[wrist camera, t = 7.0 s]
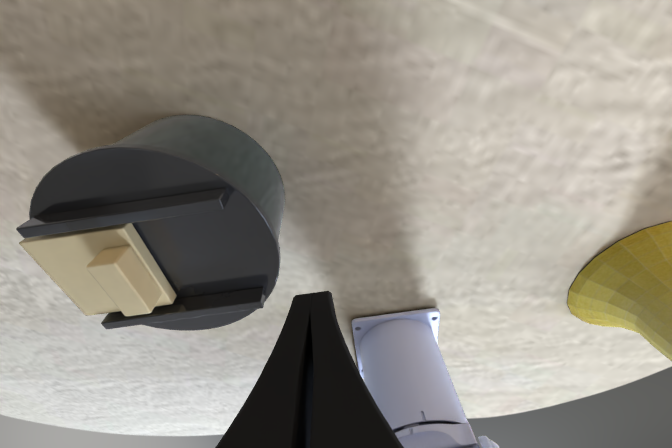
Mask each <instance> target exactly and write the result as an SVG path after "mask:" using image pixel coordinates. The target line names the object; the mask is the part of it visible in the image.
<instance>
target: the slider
mask: <svg viewBox="0 0 672 448" xmlns="http://www.w3.org/2000/svg"><path fill="white" fill-rule="evenodd" d="M19 244H20V245H21V246H22V247H23V248H24V250H25V251H26V252H27V253H28V254H29V255H30V256H31V257H32V258H33V259H34V260H35V261H36V262H37V264H38V265H39V266H40V267H41V268H42V269H43V270H44V271H45V272H46V273H47V274H48V275H49V276H50V278H51V279H52V280H53V281H54V282H55V283H56V284H57V285H58V286H59V287H60V288H61V289H62V291H63V292H64V293H65V294H66V295H67V296H68V297H69V298H70V299H71V300H72V301H73V302H74V303H75V305H76V306H77V307H78V308H79V309H80V310H81V311H82V312H83V313H84V314H85V315H86V316H89V315H97V314H104V313H111V312H118V311H121V312H122V313H123V314H124V315H125V316H134V315H141V314H148V313H151V312H152V310H153V309H154V307H155V306H162V305H169V304H173V302H174V300H175V298H176V296H177V295H176V293H175V292H174V290H173V289H172V287H171V285H170V284H169V282H168V281H167V279H166V277H165V276H164V274H163V273H162V271H161V269H160V268H159V266H158V265H157V263H156V261H155V260H154V258H153V257H152V255H151V253H150V252H149V250H148V249H147V247H146V245H145V244H144V242H143V241H142V239H141V237H140V236H139V234H138V233H137V231H136V229H135V228H134V226H133V225H132V223H127V224H121V225H114V226H107V227H100V228H93V229H86V230H79V231H72V232H65V233H58V234H51V235H44V236H37V237H30V238H25V239H24V240H22V241H21V242H20V243H19Z"/></svg>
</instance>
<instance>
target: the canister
mask: <svg viewBox="0 0 672 448" xmlns="http://www.w3.org/2000/svg"><path fill="white" fill-rule="evenodd" d="M284 205H285V192H284V186H283V182H282V179H281V176H280V174H279V171H278V169H277V167H276V165H275V164H274V162H273V161H272V159H271V158H270V156H269V155H268V154H267V153H266V151H265V150H264V149H263V148H262V147H261V146H260V145H259V144H258V143H257V142H256V141H255V140H254V139H252V138H251V137H250V136H248V135H247V134H245V133H244V132H242V131H241V130H239V129H237V128H236V127H234V126H232V125H229V124H227V123H225V122H223V121H219V120H216V119H213V118H209V117H204V116H198V115H176V116H170V117H166V118H162V119H160V120H157V121H155V122H152V123H150V124H149V125H147V126H145V127H143V128H141V129H140V130H138V131H136V132H134V133H132V134H130V135H129V136H127V137H125V138H123V139H121V140H120V141H118V142H116V143H114V144H112V145H105V146H101V147H96V148H92V149H88V150H86V151H83V152H81V153H78V154H76V155H73V156H71V157H69V158H67V159H66V160H64V161H62V162H61V163H59V164H58V165H56V166H54V167H53V168H52V169H51V170H50V171H49V172H48V173H47V174H46V175H45V176H44V177H43V178H42V180H41V181H40V183H39V184H38V186H37V187H36V189H35V192H34V194H33V197H32V199H31V205H30V212H29V216H30V220H28V221H27V222H25V223H24V224H22V225H21V226H19V227H17V228H16V230H17V231H18V232H19V233H20V234H21V235H22V236H23V237H24V238H30V237H37V236H44V235H51V234H58V233H65V232H72V231H79V230H86V229H93V228H100V227H107V226H114V225H121V224H127V223H132V225H133V226H134V228H135V229H136V231H137V233H138V234H139V236H140V237H141V239H142V241H143V242H144V244H145V245H146V247H147V249H148V250H149V252H150V253H151V255H152V257H153V258H154V260H155V261H156V263H157V265H158V266H159V268H160V269H161V271H162V273H163V274H164V276H165V277H166V279H167V281H168V282H169V284H170V285H171V287H172V289H173V290H174V292H175V293H176V295H177V296H176V298H175V300H174V302H173V304H169V305H162V306H155V307H154V309H153V310H152V312H151V313H148V314H141V315H134V316H125V315H124V314H123V313H122V312H121V311H118V312H111V313H108V315H107V316H106V317H105V319H104V320H103V321H102V323H101V324H102V325H103V326H104V327H105V328H106V329H112V328H119V327H127V326H134V325H141V324H142V325H146V326H151V327H155V328H162V329H169V330H204V329H211V328H217V327H221V326H224V325H228V324H231V323H233V322H236V321H238V320H241V319H242V318H244V317H246V316H248V315H250V314H251V313H252V312H254V311H255V310H257V309H259V308H263V306H264V302H265V301H266V299H267V298H268V297H269V295H270V294H271V292H272V291H273V289H274V287H275V285H276V281H277V278H278V275H279V268H280V247H279V242H278V240H279V235H280V229H281V223H282V218H283V212H284Z"/></svg>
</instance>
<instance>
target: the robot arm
mask: <svg viewBox="0 0 672 448" xmlns="http://www.w3.org/2000/svg"><path fill="white" fill-rule="evenodd" d="M439 320H440V312H439V310H438V309H437V308H430V309H423V310H416V311H408V312H401V313H393V314H386V315H378V316H371V317H363V318H356V319H354V320H353V321H352V329H353V335H354V342H355V348H356V354H357V361H358V367H359V371H358V369H357V367H356V365H355V363H354V361H353V358H352V356H351V354H350V352H349V350H348V347H347V345H346V343H345V340H344V338H343V335H342V333H341V330H340V328H339V325H338V322H337V319H336V314H335V309H334V304H333V298H332V293H331V292H329V291H324V292H317V293H310V294H302V295H296V296H295V297H294V298H293V301H292V304H291V307H290V310H289V313H288V316H287V318H286V321H285V324H284V326H283V329H282V331H281V333H280V335H279V338H278V340H277V342H276V345H275V347H274V349H273V351H272V353H271V355H270V357H269V359H268V361H267V363H266V365H265V367H264V369H263V371H262V373H261V375H260V377H259V379H258V381H257V382H256V384H255V386H254V388H253V390H252V391H251V393H250V395H249V396H248V398H247V400H246V402H245V403H244V405H243V407H242V408H241V410H240V411H239V413H238V414H237V416H236V418H235V419H234V421H233V422H232V424H231V425H230V427H229V428H228V430H227V432H226V433H225V434H224V436H223V437H222V439H221V440H220V442H219V443H218V445H217V446H216V448H479V445H478V443H477V440H476V438H475V436H474V433H473V431H472V428H471V426H470V424H469V423H468V421H467V418H466V416H465V413H464V411H463V408H462V406H461V403H460V401H459V398H458V395H457V393H456V390H455V388H454V385H453V383H452V380H451V378H450V375H449V372H448V370H447V367H446V365H445V362H444V360H443V357H442V355H441V352H440V349H439V347H438V344H437V339H438V330H439ZM362 378H364V381H363V379H362ZM478 439H479V441H480V444H481V446H482V448H499V446H498V445H497V444H496V443H495V442H493V441H492V440H489V439H488V437H487V436H480V437H478Z"/></svg>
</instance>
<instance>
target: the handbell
mask: <svg viewBox="0 0 672 448" xmlns="http://www.w3.org/2000/svg"><path fill="white" fill-rule="evenodd" d="M567 304H568V306H569V309H570V311H571V313H572V314H573V315H574V316H576V317H578V318H579V319H581V320H582V321H585V322H587V323H589V324H594V325H600V326H608V327H622V328H625V329H628V330H632V331H635V332H637V333H640V334H641V335H642V336H643V337H644V338H645V339H646V340H647V341H648V342H649V343H650V344H651V345H652V346H654V347H655V348H656V349H657V350H658V351H660V352H661V353H662V354H663V355H665V356H666V357H667V358H668V359H670V360H671V361H672V221H671V222H667V223H664V224H660V225H657V226H653V227H649V228H646V229H643V230H641V231H639V232H637V233H635V234H633V235H631V236H629V237H626V238H624V239H622V240H620V241H618V242H617V243H615V244H614V245H612V246H611V247H609V248H608V249H606V250H605V251H604V252H602V253H601V254H599V255H598V256H596V257H595V258H594V259H593V260H592V261H591V262H590V263H589V264H588V265H587V266H586V267H585V268H584V269H583V270H582V271H581V272H580V273H579V274H578V276H577V278H576V279H575V281H574V283H573V284H572V286H571V288H570V290H569V295H568V301H567Z"/></svg>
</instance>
